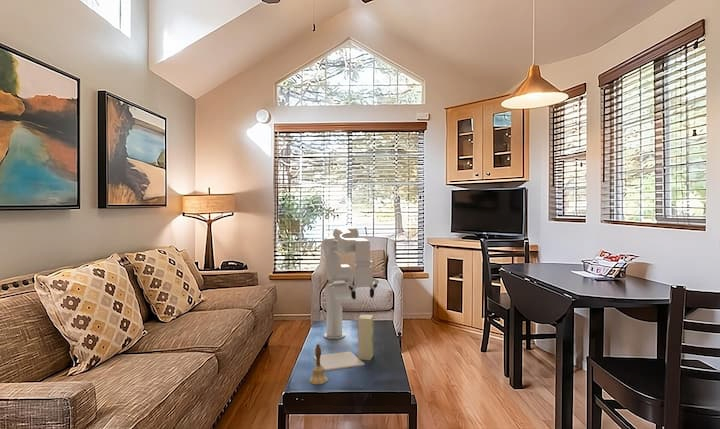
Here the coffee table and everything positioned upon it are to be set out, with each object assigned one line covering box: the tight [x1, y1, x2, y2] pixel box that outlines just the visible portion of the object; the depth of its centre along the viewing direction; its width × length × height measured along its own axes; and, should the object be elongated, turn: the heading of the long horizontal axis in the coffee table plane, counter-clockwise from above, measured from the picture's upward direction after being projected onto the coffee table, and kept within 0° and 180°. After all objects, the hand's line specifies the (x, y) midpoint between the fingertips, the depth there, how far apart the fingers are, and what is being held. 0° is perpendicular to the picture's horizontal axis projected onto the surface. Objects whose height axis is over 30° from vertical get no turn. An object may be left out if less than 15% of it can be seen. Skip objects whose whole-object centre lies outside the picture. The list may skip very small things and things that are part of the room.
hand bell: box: [308, 344, 329, 385], centre depth 189 cm, size 8×8×16 cm
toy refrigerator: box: [357, 314, 375, 361], centre depth 220 cm, size 8×7×21 cm
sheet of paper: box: [313, 350, 365, 372], centre depth 214 cm, size 20×20×1 cm
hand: (362, 298), depth 216 cm, fingers open, 9 cm apart
